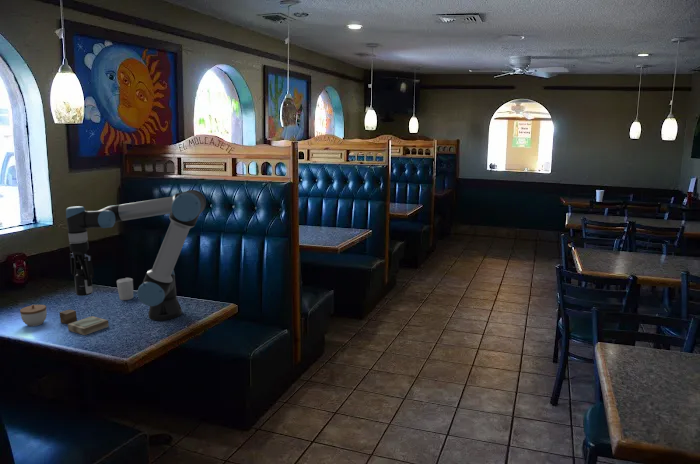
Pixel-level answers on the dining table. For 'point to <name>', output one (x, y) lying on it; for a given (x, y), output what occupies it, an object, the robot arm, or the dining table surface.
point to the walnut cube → (68, 316)
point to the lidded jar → (33, 314)
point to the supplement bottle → (80, 282)
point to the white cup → (125, 288)
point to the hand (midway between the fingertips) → (84, 291)
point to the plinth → (88, 325)
